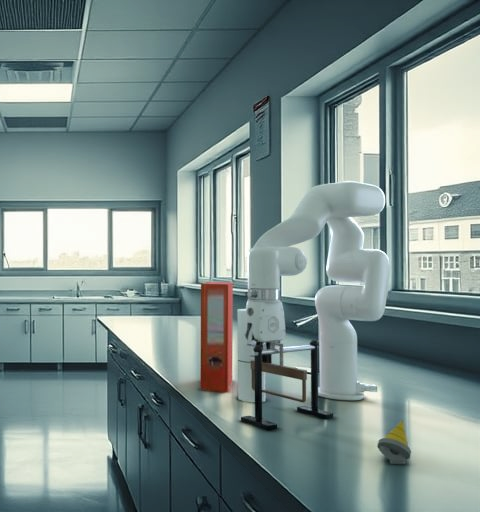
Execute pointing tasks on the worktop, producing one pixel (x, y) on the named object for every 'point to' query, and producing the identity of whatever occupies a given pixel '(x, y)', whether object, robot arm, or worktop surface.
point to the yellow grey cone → (395, 445)
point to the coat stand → (258, 353)
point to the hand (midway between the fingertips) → (264, 368)
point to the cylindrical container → (245, 363)
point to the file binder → (216, 336)
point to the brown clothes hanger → (282, 374)
